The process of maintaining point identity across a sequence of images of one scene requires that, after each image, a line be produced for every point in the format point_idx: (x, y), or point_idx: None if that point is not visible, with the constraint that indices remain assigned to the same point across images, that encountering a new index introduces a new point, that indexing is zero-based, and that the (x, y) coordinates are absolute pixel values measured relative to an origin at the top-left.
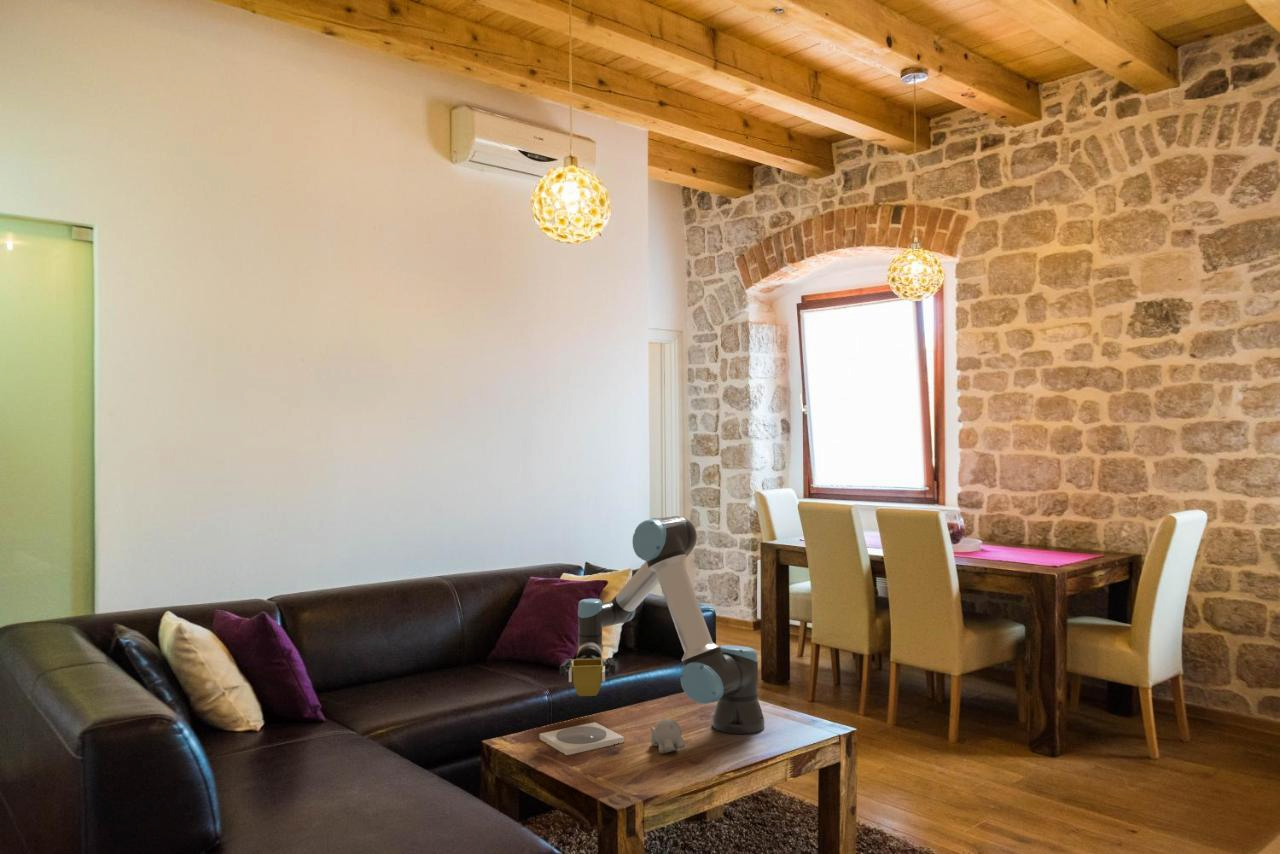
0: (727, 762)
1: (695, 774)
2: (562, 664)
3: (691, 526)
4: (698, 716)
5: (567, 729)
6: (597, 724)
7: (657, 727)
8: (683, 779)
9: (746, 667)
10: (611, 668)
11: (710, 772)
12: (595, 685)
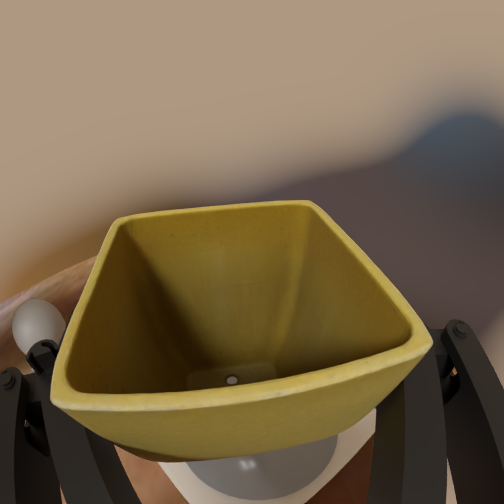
0: (8, 311)
1: (61, 282)
2: (486, 365)
3: None
4: None
5: (317, 460)
6: None
7: (53, 310)
8: (81, 270)
9: None
10: (36, 375)
11: (42, 286)
12: (180, 317)
